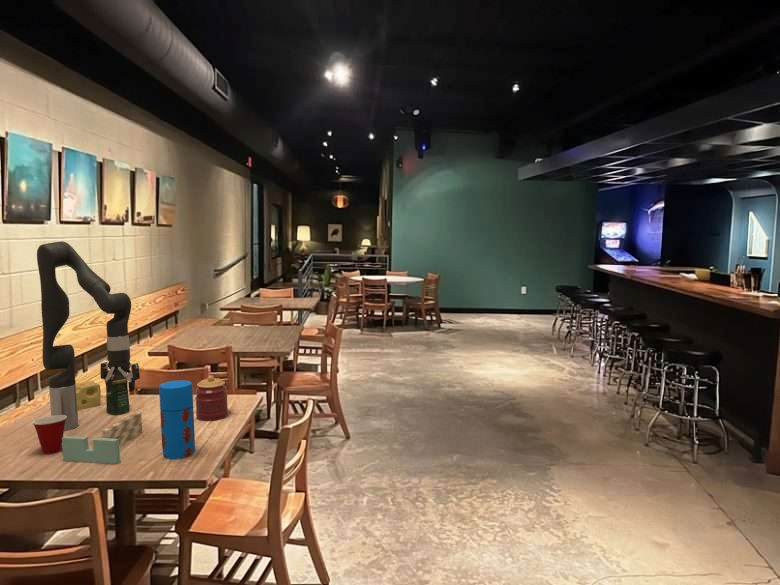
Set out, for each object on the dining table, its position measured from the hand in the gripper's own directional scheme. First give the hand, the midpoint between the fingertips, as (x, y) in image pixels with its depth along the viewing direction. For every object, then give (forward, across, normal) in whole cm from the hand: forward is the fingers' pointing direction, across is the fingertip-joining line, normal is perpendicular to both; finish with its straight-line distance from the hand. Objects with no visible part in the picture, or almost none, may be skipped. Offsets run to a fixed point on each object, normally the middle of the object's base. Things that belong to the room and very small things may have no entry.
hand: (121, 390), depth 210 cm
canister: (+20, +19, +32) cm, 42 cm away
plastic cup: (+20, -20, -12) cm, 31 cm away
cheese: (+20, -45, +38) cm, 62 cm away
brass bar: (+20, 0, 0) cm, 20 cm away
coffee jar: (+20, -24, +32) cm, 44 cm away
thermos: (+20, +26, -7) cm, 34 cm away
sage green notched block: (+20, 0, -18) cm, 26 cm away
